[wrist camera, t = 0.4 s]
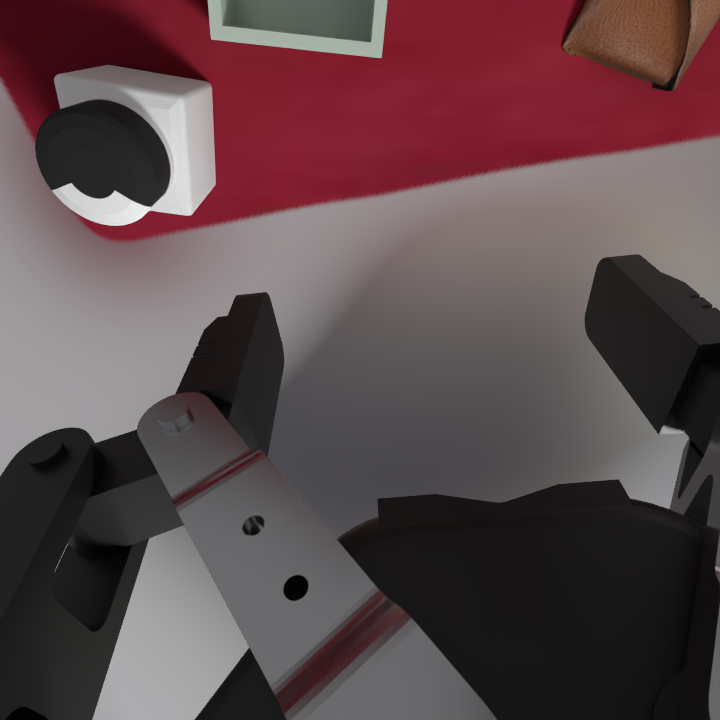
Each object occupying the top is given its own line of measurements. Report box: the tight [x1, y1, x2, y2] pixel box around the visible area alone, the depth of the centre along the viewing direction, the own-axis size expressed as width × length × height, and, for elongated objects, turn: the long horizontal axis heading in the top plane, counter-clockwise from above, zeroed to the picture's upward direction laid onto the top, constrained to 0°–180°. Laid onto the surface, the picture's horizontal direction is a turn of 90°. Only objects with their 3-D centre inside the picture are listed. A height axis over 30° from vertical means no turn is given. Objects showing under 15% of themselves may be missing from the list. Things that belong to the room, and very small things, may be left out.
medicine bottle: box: [35, 65, 216, 226], centre depth 28 cm, size 7×7×12 cm
